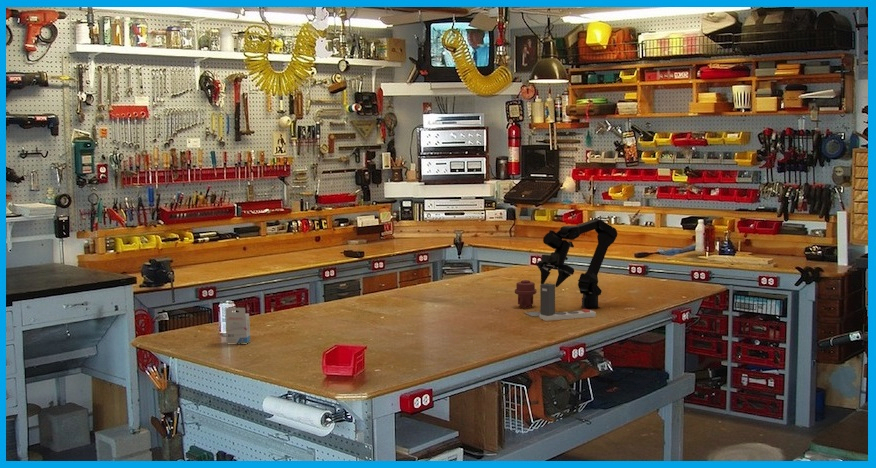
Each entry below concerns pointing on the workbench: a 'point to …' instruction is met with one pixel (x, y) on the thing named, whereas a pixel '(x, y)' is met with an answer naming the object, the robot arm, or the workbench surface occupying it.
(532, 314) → the mat
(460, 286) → the workbench surface
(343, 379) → the workbench surface
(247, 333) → the ink box
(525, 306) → the mechanical component
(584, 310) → the power strip
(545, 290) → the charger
